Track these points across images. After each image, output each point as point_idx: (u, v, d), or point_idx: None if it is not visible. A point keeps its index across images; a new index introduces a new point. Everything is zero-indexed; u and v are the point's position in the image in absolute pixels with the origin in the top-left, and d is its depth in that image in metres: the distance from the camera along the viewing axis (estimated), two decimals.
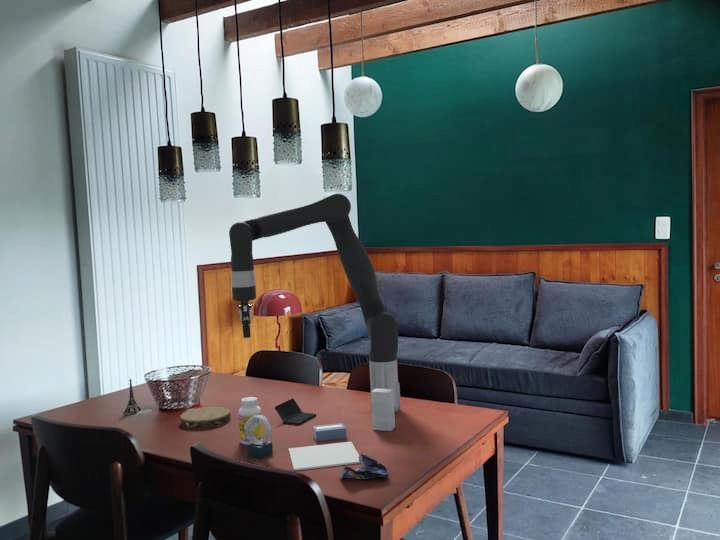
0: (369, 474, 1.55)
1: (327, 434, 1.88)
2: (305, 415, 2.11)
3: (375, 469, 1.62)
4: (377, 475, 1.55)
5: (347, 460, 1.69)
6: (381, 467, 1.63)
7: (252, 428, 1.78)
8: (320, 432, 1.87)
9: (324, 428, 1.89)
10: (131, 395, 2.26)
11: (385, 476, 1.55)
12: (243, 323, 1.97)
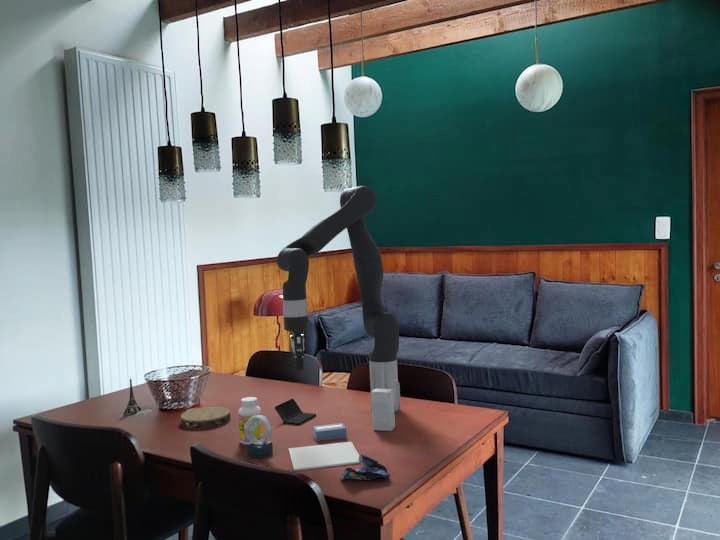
0: (370, 475, 1.55)
1: (327, 434, 1.88)
2: (305, 415, 2.11)
3: (375, 469, 1.62)
4: (378, 475, 1.55)
5: (347, 460, 1.69)
6: (381, 467, 1.63)
7: (252, 428, 1.78)
8: (320, 432, 1.87)
9: (324, 428, 1.89)
10: (131, 395, 2.26)
11: (387, 476, 1.55)
12: (296, 355, 1.88)
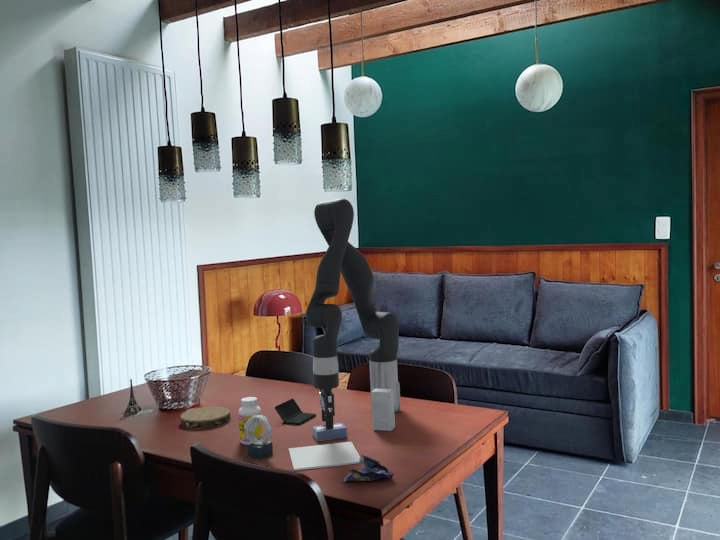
0: (374, 475, 1.55)
1: (328, 434, 1.88)
2: (305, 415, 2.11)
3: (375, 470, 1.62)
4: (382, 476, 1.55)
5: (347, 460, 1.69)
6: (381, 467, 1.63)
7: (252, 428, 1.78)
8: (321, 432, 1.87)
9: (324, 428, 1.89)
10: (132, 395, 2.26)
11: (390, 476, 1.55)
12: (327, 415, 1.83)
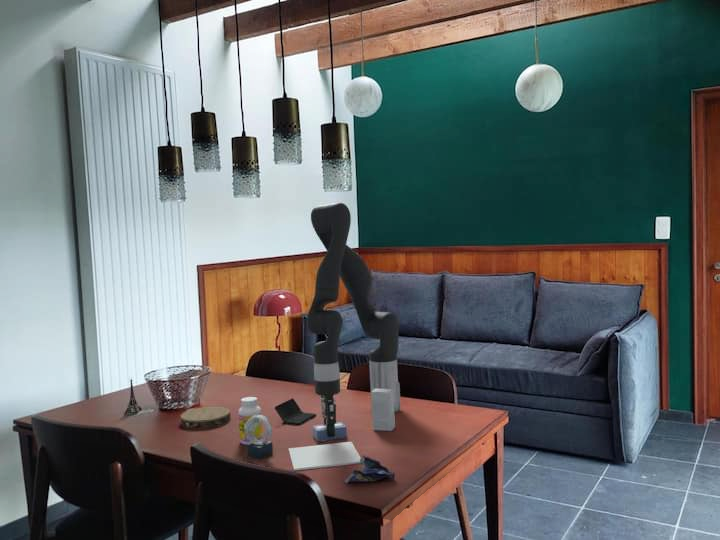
0: (376, 476, 1.54)
1: None
2: (305, 415, 2.11)
3: (375, 470, 1.61)
4: (384, 476, 1.55)
5: (347, 460, 1.69)
6: (380, 468, 1.63)
7: (252, 428, 1.78)
8: (321, 431, 1.87)
9: (324, 427, 1.89)
10: (132, 395, 2.26)
11: (392, 476, 1.55)
12: (329, 422, 1.84)
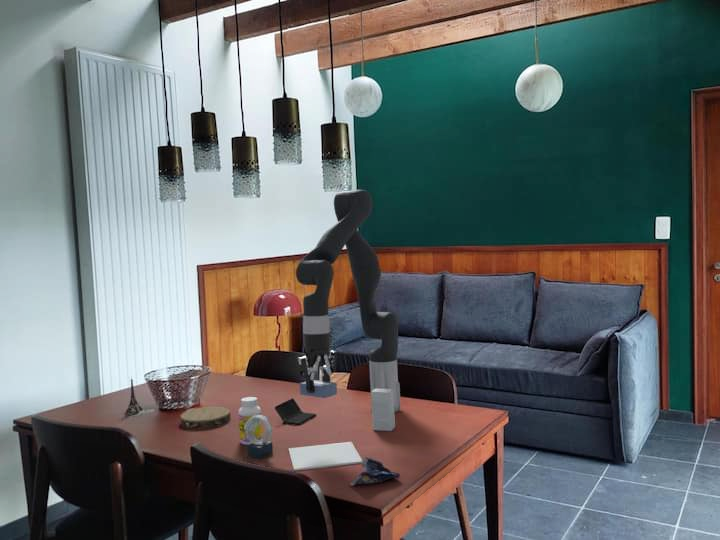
0: (382, 477, 1.54)
1: None
2: (305, 415, 2.11)
3: (376, 472, 1.61)
4: (390, 476, 1.54)
5: (347, 460, 1.69)
6: (380, 469, 1.62)
7: (252, 428, 1.78)
8: (303, 385, 1.81)
9: None
10: (132, 395, 2.26)
11: (397, 476, 1.55)
12: (300, 376, 1.77)
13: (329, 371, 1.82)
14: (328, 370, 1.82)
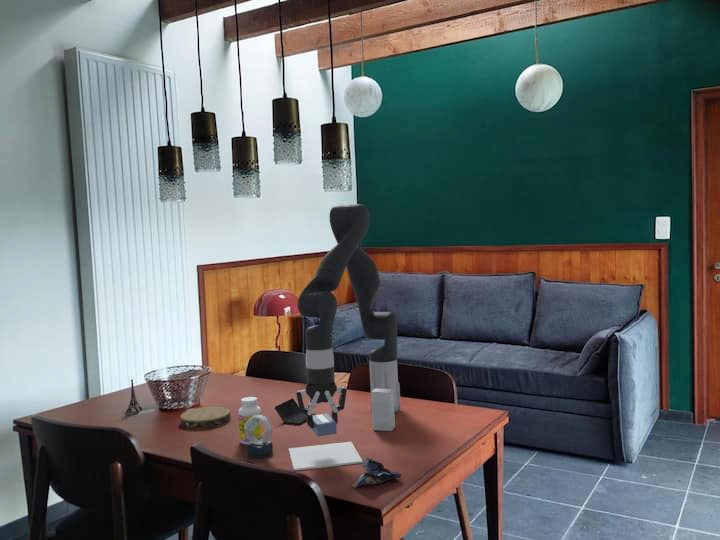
0: (384, 477, 1.53)
1: None
2: (305, 415, 2.11)
3: (376, 472, 1.60)
4: (392, 476, 1.54)
5: (347, 460, 1.69)
6: (379, 469, 1.62)
7: (252, 428, 1.78)
8: None
9: (317, 417, 1.75)
10: (133, 395, 2.26)
11: (399, 476, 1.55)
12: None
13: (334, 408, 1.73)
14: (333, 407, 1.73)
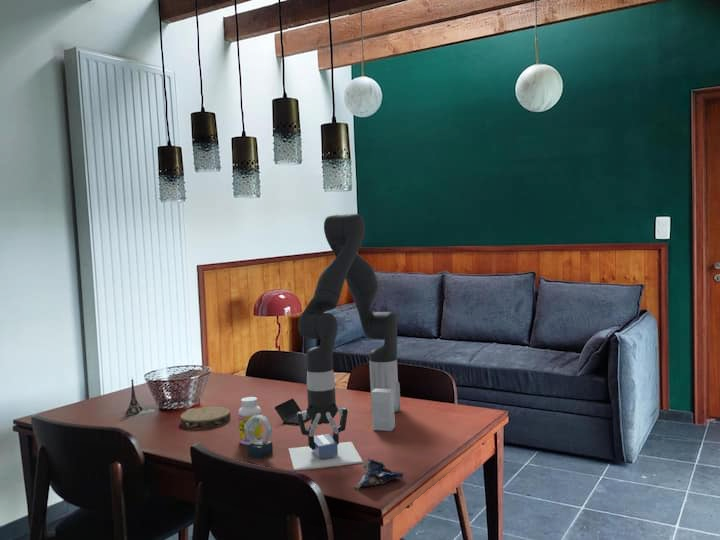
0: (387, 477, 1.53)
1: None
2: None
3: (377, 473, 1.60)
4: (394, 476, 1.54)
5: (347, 460, 1.69)
6: (379, 470, 1.62)
7: (252, 428, 1.78)
8: None
9: (318, 438, 1.75)
10: (133, 395, 2.26)
11: (401, 475, 1.55)
12: None
13: (335, 429, 1.73)
14: (334, 428, 1.73)
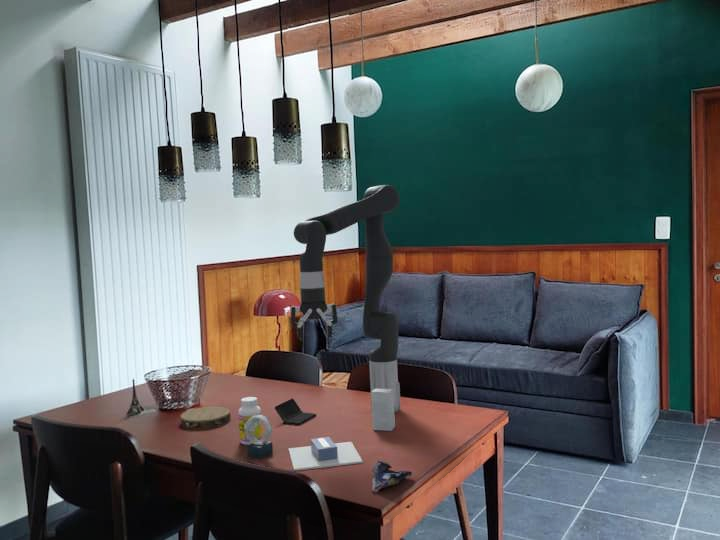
0: (400, 477, 1.53)
1: (313, 447, 1.74)
2: (305, 415, 2.11)
3: (381, 475, 1.59)
4: (405, 475, 1.55)
5: (347, 460, 1.69)
6: (381, 471, 1.60)
7: (252, 428, 1.78)
8: (311, 442, 1.76)
9: (319, 441, 1.75)
10: (134, 395, 2.25)
11: (411, 473, 1.56)
12: None
13: (329, 322, 1.97)
14: (327, 321, 1.96)
